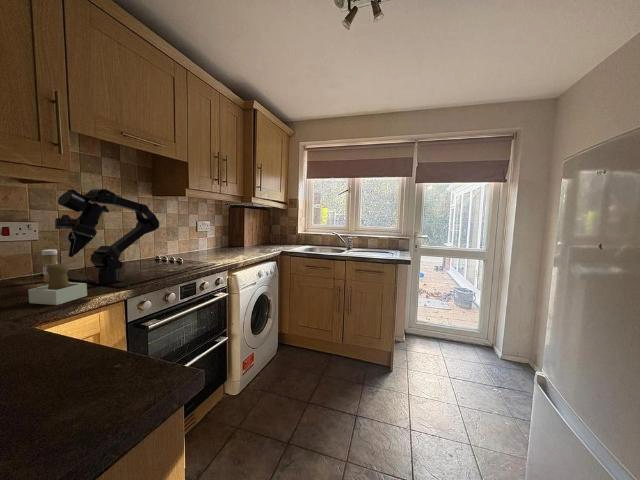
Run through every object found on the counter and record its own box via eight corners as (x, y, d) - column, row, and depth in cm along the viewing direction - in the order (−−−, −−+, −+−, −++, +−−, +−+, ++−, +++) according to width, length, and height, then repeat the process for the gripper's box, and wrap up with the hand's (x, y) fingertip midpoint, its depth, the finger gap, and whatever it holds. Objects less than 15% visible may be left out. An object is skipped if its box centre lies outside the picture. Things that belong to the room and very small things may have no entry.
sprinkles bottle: (43, 283, 108) (41, 250, 107) (44, 281, 112) (42, 249, 111) (58, 281, 112) (56, 250, 110) (59, 279, 115) (57, 248, 114)
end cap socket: (62, 294, 96) (61, 281, 95) (87, 295, 94) (86, 283, 94) (29, 303, 86) (28, 289, 85) (56, 304, 85) (55, 291, 84)
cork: (47, 300, 86) (45, 266, 85) (46, 296, 90) (43, 264, 89) (73, 296, 90) (71, 264, 89) (70, 292, 94) (68, 262, 93)
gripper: (59, 214, 104) (40, 251, 98) (65, 203, 92) (44, 245, 86) (94, 225, 111) (78, 260, 106) (104, 215, 99) (86, 255, 94)
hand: (71, 255), depth 98 cm, fingers open, 9 cm apart
